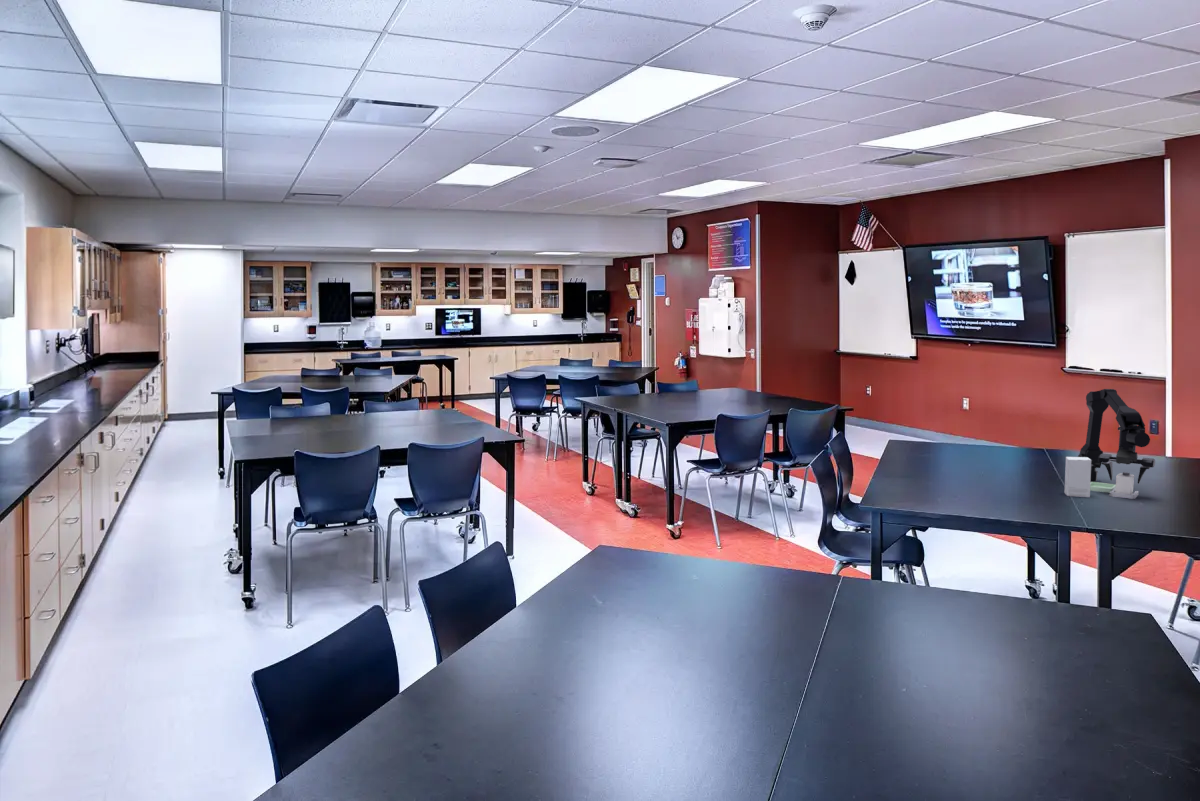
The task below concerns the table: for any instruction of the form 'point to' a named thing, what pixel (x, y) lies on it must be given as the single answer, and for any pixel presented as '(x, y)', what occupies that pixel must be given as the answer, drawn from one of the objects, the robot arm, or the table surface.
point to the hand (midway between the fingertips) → (1124, 481)
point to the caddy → (1124, 483)
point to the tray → (1102, 487)
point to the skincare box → (1077, 476)
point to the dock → (1133, 496)
